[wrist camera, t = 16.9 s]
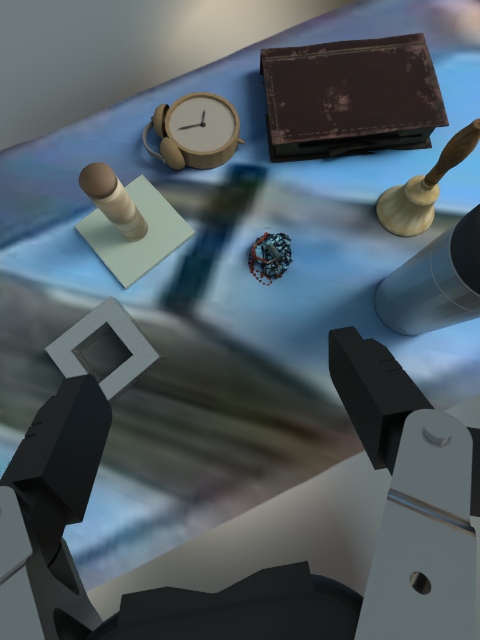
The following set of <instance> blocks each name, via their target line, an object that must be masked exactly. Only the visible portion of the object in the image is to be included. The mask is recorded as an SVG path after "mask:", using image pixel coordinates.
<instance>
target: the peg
mask: <svg viewBox="0 0 480 640" xmlns="http://www.w3.org/2000/svg"><path fill="white" fill-rule="evenodd" d="M79 185H80V187H81V188H82V190H83V191H84V192H85V193H86V194H87V195H88V197H89V198H90V199H91V200H92V201H93V202H94V203H95V205H96V206H97V207H98V208H99V209H100V210H101V211H102V213H103V214H104V215H105V216H106V217H107V218H108V220H109V221H110V222H111V223H112V224H113V225H114V226H115V228H116V229H117V230H118V231H119V232H120V233H121V235H122V236H123V237H124V238H125V239H126V240H128V241H131V242H136V241H140V240H141V239H143V238H144V237H145V236H146V234H147V232H148V225H147V223H146V221H145V220H144V218H143V216H142V215H141V213H140V212H139V210H138V209H137V207H136V206H135V204H134V203H133V201H132V200H131V198H130V196H129V195H128V193H127V192H126V190H125V189H124V187H123V186H122V184H121V183H120V181H119V180H118V178H117V176H116V175H115V173H114V172H113V170H112V169H111V168H110V167H109V166H108V165H107V164H104V163H92V164H90V165H88V166H86V167H85V168H84V169H83V170H82V171H81V173H80V176H79Z"/></svg>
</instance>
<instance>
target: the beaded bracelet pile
mask: <svg viewBox="0 0 480 640" xmlns="http://www.w3.org/2000/svg"><path fill="white" fill-rule="evenodd" d="M264 229H267V228H264ZM261 230H262V229H261ZM290 241H291V239H289V237H288V235H286V234H283V233H280V234H276V235H274V234H268V233H267V232H266V233H264V236H263V237H261V238H257V241H256V243H255V244H254V245H253V247H252V250H251V252H252V256H253V258H252V261H251V262H248V264H251V266H249V267H250V269H251V270H250V272H251V273H253V270H255V269H254V268H253V267H254V261H258V262H260V263H261V264H262V269H263V270H264V272H260V273H261V275H260V277H261V278H263V276H266V278H268V279H269V280H270V279H271V278H270V277H271V276H272V275H275V278H276V279H277V278H278V277H282V274H283V273H284V272H285V271H286V270H287V267H286V266H287V265H289V263H291V262H292V260H291V258H290V257H291V247H290ZM249 256H251V254H249ZM249 260H250V257H249ZM256 272H259V271H258V270H256ZM262 273H263V274H262ZM253 276H254V277H255V276H256V274H255V273H254V274H253ZM256 279H257V280H258V279H259V278H258V277H256ZM259 282H262V281H261V280H259ZM271 283H272V281H271V282H270V284H271ZM263 285H265V283H263ZM267 285H269V284H267Z"/></svg>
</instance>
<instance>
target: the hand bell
mask: <svg viewBox="0 0 480 640" xmlns="http://www.w3.org/2000/svg"><path fill="white" fill-rule="evenodd" d="M479 139H480V119H476V120H474V121H473V122H472V123H471V124H470V125H468V126H467V127H465V128H463V129H462V130H460V131H459V132H458V133H457V134H455V135H454V136H453V137H452V139H451V140H450V141H449V142H448V143H447V145H446V146H445V148H444V149H443V151H442V153H441V155H440V158H439V160H438V162H437V164H436V165H435V166H434V167H433V169H432V170H431V171H430V172H429V173H428V174H427V175H426V176H424V175H420V176H415V177H413V178H411V179H410V180H409V181H408V182H407V183H406V184H405V185H399V186H395V187H392V188H390V189H388V190H386V191H385V192H384V193H383V194H382V195H381V196H380V198H379V200H378V202H377V207H376V210H377V211H376V212H377V216H378V219H379V221H380V223H381V224H382V225H383V226H384V227H385V228H386V229H387V230H388V231H390V232H391V233H393V234H396V235H399V236H405V237H409V236H416V235H418V234H421V233H422V232H424V231H425V230H427V229H428V228H429V226H430V225H431V223H432V221H433V218H434V206H433V204H434V203H435V201H436V200H437V199H438V197H439V193H440V189H439V186H438V184H437V183H438V182H439V181H440V179H441V178H442V177H443V176H444V174H445V173H446V172H447V171H448V170H450V169H451V168H453V167H455V166H456V165H458V164H459V163H460V162H462V161H463V160H464V159H465V158H466V157H467V156H468V155H469V154H470V153H471V152H472V151H473V150H474V148H475V147H476V145H477V143H478V141H479Z"/></svg>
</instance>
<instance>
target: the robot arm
mask: <svg viewBox="0 0 480 640" xmlns="http://www.w3.org/2000/svg"><path fill="white" fill-rule="evenodd" d="M375 307H376V310H377V313H378V315H379V317H380V319H381V320H382V321H383V323H384V324H385V325H386V326H388V327H389V328H390V329H391V330H393V331H395V332H397V333H400V334H403V335H410V336H414V335H420V334H424V333H427V332H431V331H434V330H438V329H442V328H445V327H449V326H452V325H455V324H459V323H462V322H466V321H469V320H473V319H476V318H479V317H480V204H479V205H478V206H476V207H475V208H474V209H473V210H471V211H470V212H469V213H467V214H466V215H465V216H464V217H463V218H461V219H460V220H459V221H457V222H456V223H455V224H454V225H452V226H451V227H450V228H449V229H447V230H446V231H445V232H444V233H442V234H441V235H440V236H439V237H437V238H436V239H435V240H434V241H432V242H431V243H430V244H429V245H427V246H426V247H425V248H423V249H422V250H421V251H420V252H418V253H417V254H416V255H415V256H413V257H412V258H411V259H409V260H408V261H407V262H406V263H404V264H403V265H402V266H401V267H399V268H398V269H397V270H395V271H394V272H393V273H392V274H390V275H389V276H388V277H387V278H385V279H384V280H383V281H382V282H381V284H380V285H379V286H378V289H377V291H376V295H375ZM329 372H330V376H331V379H332V382H333V384H334V386H335V388H336V390H337V392H338V394H339V396H340V399H341V401H342V403H343V405H344V407H345V409H346V411H347V413H348V415H349V417H350V419H351V421H352V423H353V425H354V428H355V430H356V432H357V434H358V436H359V438H360V440H361V442H362V444H363V446H364V448H365V450H366V452H367V454H368V457H369V458H370V461H371V463H372V465H373V467H374V469H375V470H378V469H383V468H388V470H389V472H390V474H391V476H392V480H391V484H390V489H389V492H388V496H387V501H386V505H385V509H384V513H383V517H382V522H381V526H380V531H379V535H378V539H377V543H376V548H375V552H374V556H373V561H372V565H371V570H370V574H369V578H368V582H367V587H366V591H365V596H364V598H363V597H362V596H361V595H360V594H358V593H357V592H355V591H354V590H352V589H351V588H349V587H348V586H346V585H344V584H342V583H340V582H338V581H336V580H333V579H331V578H327V577H324V576H321V575H315V574H310V569H309V565H308V562H307V561H305V562H299V563H294V564H289V565H283V566H278V567H272V568H267V569H262V570H260V571H258V572H256V573H254V574H252V575H250V576H249V577H247V578H245V579H243V580H241V581H239V582H237V583H235V584H234V585H232V586H230V587H228V588H226V589H224V590H222V591H220V592H218V593H213V594H212V593H205V592H198V591H192V590H186V589H180V588H174V587H162V588H157V589H151V590H146V591H141V592H135V593H129V594H124V595H122V598H121V604H120V611H119V612H117V613H115V614H114V615H113V616H111V617H110V618H108V619H107V620H105V621H104V622H103V621H102V619H101V617H100V616H99V614H98V612H97V611H96V610H95V608H94V607H93V605H92V604H91V602H90V600H89V598H88V596H87V594H86V592H85V589H84V586H83V584H82V581H81V579H80V576H79V574H78V571H77V569H76V566H75V564H74V561H73V559H72V556H71V554H70V551H69V548H68V546H67V543H66V541H65V539H64V538H63V537H62V535H63V532H64V529H65V526H66V525H69V524H74V523H80V522H82V521H83V518H84V514H85V511H86V508H87V504H88V501H89V497H90V494H91V491H92V487H93V484H94V480H95V477H96V474H97V470H98V467H99V463H100V460H101V457H102V453H103V450H104V446H105V443H106V439H107V436H108V433H109V429H110V426H111V422H112V409H111V406H110V403H109V402H108V400H107V398H106V396H105V394H104V393H103V391H102V389H101V387H100V385H99V384H98V382H97V380H96V378H95V377H94V376H93V375H92V374H85V375H80V376H74V377H69V378H66V379H65V380H64V381H63V383H62V385H61V387H60V389H59V391H58V393H57V395H56V396H52V397H51V398H50V399H49V400H48V401H47V402H46V403H45V404H44V405H43V406H42V407H41V408H40V409H39V411H38V413H37V414H36V416H35V418H34V420H33V422H32V423H31V425H32V426H31V427H29V429H28V431H27V433H26V434H25V439H23V440H22V442H21V443H20V445H19V447H18V449H17V451H16V453H15V454H14V456H13V458H12V460H11V462H10V463H9V465H8V467H7V469H6V471H5V473H4V474H3V476H2V478H1V480H0V640H474V633H475V631H474V630H475V591H476V590H475V589H476V549H477V546H476V545H477V544H476V533H475V529H474V528H473V527H471V526H470V515H471V516H477V517H480V429H477V428H470V427H466V426H465V425H463V423H462V422H460V421H459V420H458V419H456V418H455V417H453V416H451V415H449V414H447V413H445V412H442V411H439V410H435V409H434V407H433V406H432V405H431V404H430V402H429V401H428V400H427V399H426V397H425V396H424V395H423V393H422V392H421V391H420V390H419V388H418V387H417V386H416V385H415V383H414V382H413V381H412V379H411V378H410V377H409V376H408V374H407V373H406V372H405V371H403V369H402V367H401V365H400V364H399V363H398V362H397V361H395V358H394V356H393V355H392V354H391V353H390V351H389V350H388V349H387V348H386V347H385V346H384V345H382V344H380V343H379V342H377V341H376V340H374V339H372V338H371V339H366V340H363V339H362V337H361V336H360V334H359V333H358V332H357V330H356V329H355V328H354V327H353V326H351V327H345V328H340V329H334V330H330V331H329Z"/></svg>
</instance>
